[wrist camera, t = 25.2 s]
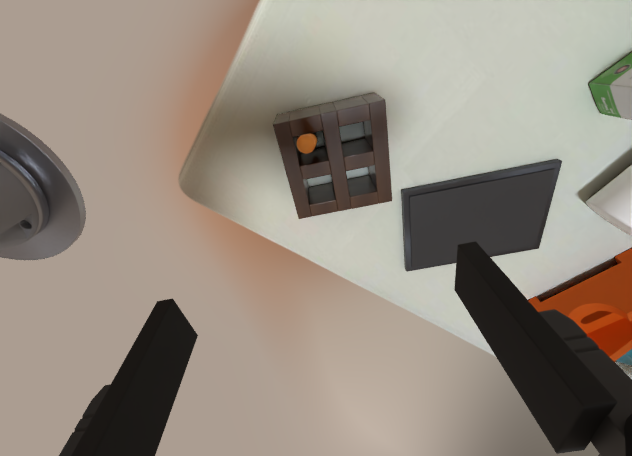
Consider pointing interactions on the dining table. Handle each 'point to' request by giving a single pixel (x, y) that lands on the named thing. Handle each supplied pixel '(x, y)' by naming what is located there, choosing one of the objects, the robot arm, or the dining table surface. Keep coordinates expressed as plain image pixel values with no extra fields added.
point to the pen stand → (337, 155)
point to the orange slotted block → (600, 306)
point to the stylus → (306, 143)
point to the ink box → (615, 89)
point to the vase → (626, 358)
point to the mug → (615, 201)
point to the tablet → (477, 214)
